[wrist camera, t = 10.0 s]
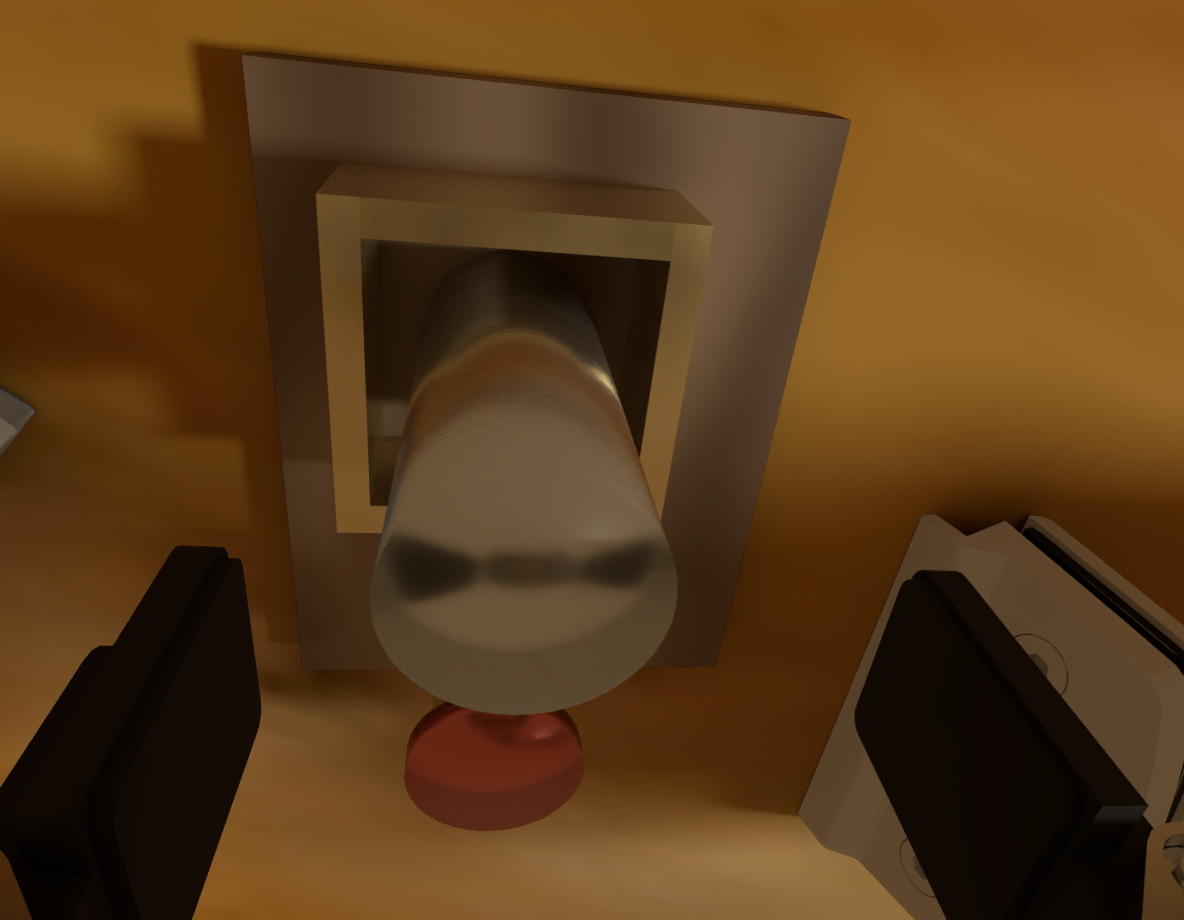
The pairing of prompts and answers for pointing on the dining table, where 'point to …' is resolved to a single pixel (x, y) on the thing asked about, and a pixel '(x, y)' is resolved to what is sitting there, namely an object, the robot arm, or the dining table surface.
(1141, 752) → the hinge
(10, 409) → the label tape box
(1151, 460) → the dining table surface
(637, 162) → the base board
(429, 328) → the beige cylindrical canister
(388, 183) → the square socket board
